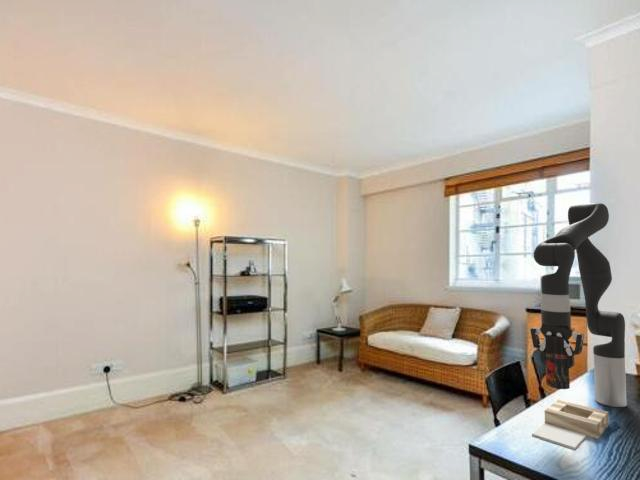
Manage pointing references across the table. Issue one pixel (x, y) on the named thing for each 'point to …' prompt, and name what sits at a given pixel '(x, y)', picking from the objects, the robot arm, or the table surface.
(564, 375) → the deodorant
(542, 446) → the table surface
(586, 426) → the holder
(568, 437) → the mat
